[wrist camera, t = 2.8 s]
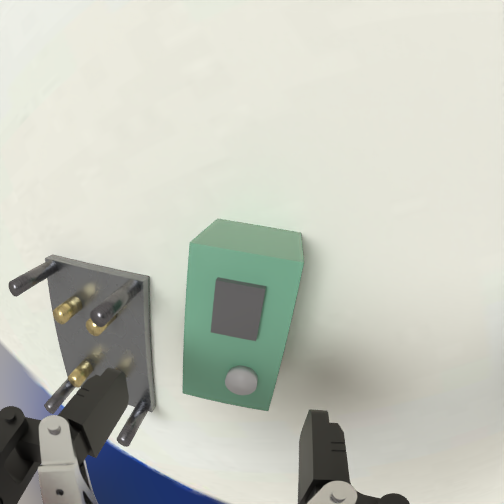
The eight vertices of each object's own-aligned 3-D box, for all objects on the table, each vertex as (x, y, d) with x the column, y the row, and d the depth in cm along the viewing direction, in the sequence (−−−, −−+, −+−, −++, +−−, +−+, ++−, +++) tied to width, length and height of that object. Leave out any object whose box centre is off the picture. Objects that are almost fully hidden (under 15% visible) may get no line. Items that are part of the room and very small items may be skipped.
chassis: (52, 254, 23) (5, 279, 17) (148, 276, 22) (108, 313, 17) (73, 376, 27) (44, 409, 22) (155, 405, 27) (132, 449, 21)
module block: (217, 218, 21) (185, 246, 14) (300, 232, 20) (304, 266, 14) (205, 343, 24) (179, 399, 17) (274, 356, 23) (267, 417, 17)
